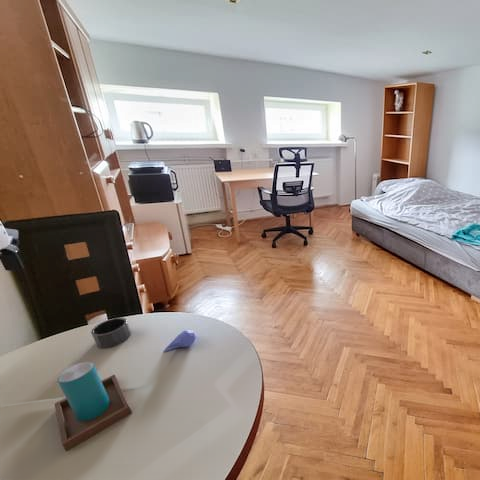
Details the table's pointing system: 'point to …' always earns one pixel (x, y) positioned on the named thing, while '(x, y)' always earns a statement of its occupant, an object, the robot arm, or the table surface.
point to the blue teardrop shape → (182, 340)
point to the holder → (111, 333)
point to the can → (84, 391)
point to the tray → (81, 431)
